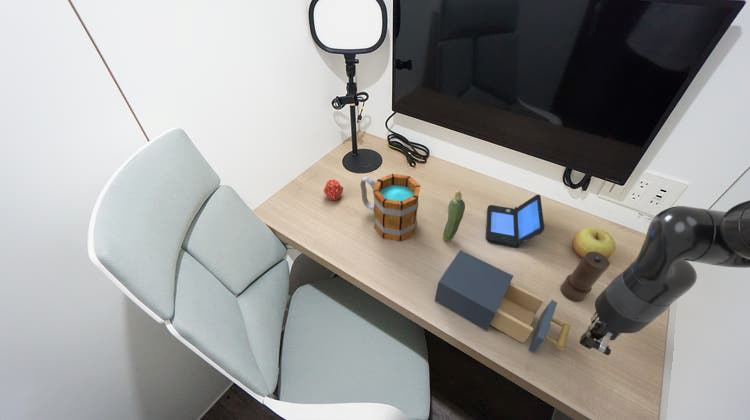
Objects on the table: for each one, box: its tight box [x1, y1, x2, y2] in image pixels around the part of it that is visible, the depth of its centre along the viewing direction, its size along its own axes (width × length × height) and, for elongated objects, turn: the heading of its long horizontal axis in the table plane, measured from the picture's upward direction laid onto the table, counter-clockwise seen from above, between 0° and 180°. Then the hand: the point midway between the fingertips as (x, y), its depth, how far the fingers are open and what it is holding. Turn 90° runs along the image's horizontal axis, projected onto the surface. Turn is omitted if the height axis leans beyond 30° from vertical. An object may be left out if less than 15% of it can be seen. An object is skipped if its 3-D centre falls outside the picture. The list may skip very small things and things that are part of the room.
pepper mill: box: [560, 252, 611, 303], centre depth 75 cm, size 6×6×14 cm
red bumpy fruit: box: [323, 179, 344, 201], centre depth 106 cm, size 6×7×8 cm
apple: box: [571, 226, 616, 260], centre depth 86 cm, size 10×10×8 cm
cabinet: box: [434, 249, 514, 332], centre depth 76 cm, size 14×12×9 cm
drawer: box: [489, 281, 571, 354], centre depth 71 cm, size 17×10×7 cm, turn 54°
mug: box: [359, 173, 421, 242], centre depth 94 cm, size 20×14×15 cm
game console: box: [485, 194, 545, 249], centre depth 93 cm, size 16×13×9 cm
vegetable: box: [442, 189, 466, 242], centre depth 86 cm, size 4×4×20 cm
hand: (585, 343), depth 65 cm, fingers closed
